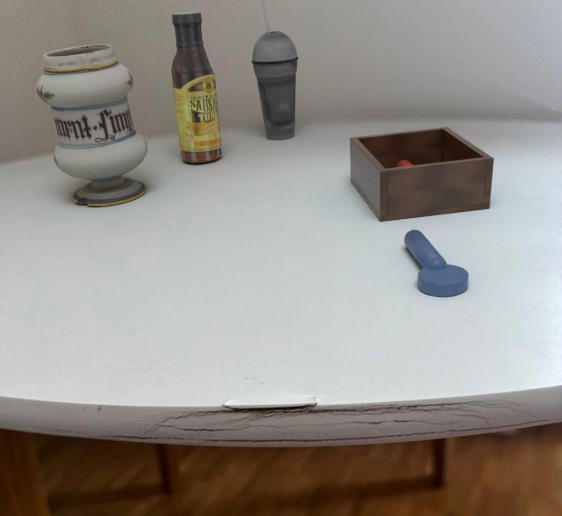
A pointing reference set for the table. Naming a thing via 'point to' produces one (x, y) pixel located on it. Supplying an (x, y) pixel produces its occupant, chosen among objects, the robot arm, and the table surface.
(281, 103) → the beverage cup
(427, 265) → the blue spoon
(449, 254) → the table surface
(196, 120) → the sauce bottle
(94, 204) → the apothecary jar
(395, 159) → the bin
